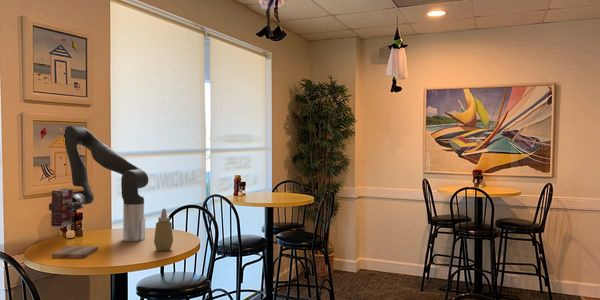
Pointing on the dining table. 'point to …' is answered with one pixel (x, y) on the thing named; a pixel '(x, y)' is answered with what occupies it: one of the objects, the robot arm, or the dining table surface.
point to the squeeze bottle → (163, 233)
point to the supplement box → (61, 208)
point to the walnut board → (75, 252)
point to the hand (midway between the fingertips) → (60, 208)
